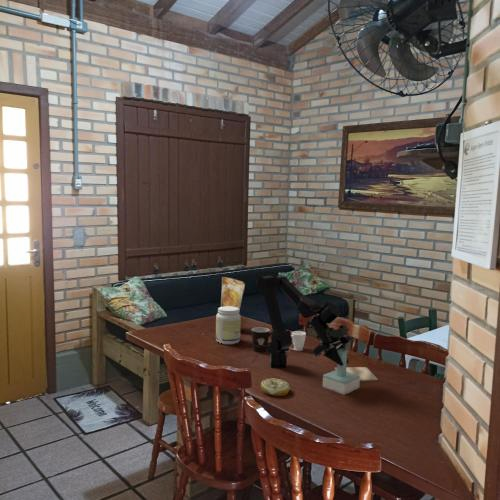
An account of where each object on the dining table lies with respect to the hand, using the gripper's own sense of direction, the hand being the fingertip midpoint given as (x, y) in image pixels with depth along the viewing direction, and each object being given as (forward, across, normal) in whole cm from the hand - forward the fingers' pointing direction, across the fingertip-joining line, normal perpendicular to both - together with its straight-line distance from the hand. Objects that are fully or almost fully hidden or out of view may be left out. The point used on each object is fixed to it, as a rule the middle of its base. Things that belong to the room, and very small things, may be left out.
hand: (345, 364), depth 184 cm
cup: (-24, +23, +38) cm, 50 cm away
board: (+3, +16, +11) cm, 20 cm away
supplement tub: (-45, +7, +59) cm, 75 cm away
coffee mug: (-30, +10, +44) cm, 54 cm away
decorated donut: (-4, -22, +18) cm, 29 cm away
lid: (+4, 0, +6) cm, 7 cm away
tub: (+6, 0, +8) cm, 10 cm away
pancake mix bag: (-56, +23, +70) cm, 93 cm away
